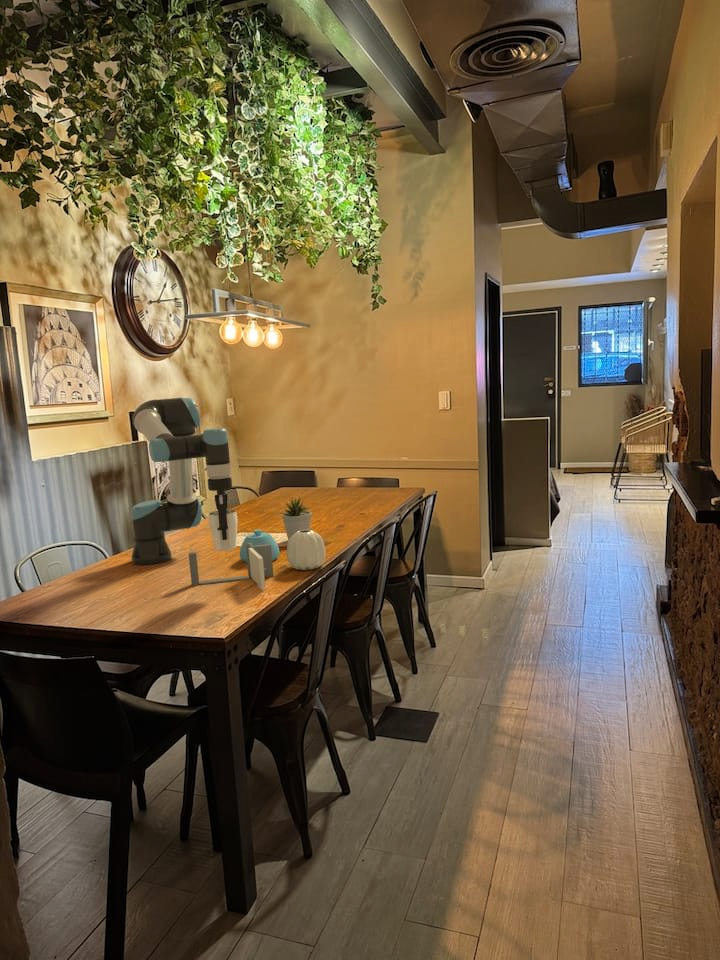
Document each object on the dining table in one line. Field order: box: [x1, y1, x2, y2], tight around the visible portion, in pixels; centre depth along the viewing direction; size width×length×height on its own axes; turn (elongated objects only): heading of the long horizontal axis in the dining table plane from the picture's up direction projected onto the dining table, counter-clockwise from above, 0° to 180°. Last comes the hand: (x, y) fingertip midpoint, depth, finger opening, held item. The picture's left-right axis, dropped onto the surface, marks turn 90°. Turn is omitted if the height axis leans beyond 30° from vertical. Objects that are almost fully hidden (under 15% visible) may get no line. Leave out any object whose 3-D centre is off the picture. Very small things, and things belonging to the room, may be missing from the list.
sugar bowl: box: [239, 529, 280, 564], centre depth 246 cm, size 15×15×12 cm
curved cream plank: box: [248, 548, 266, 590], centre depth 213 cm, size 16×2×10 cm, turn 22°
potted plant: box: [280, 496, 312, 541], centre depth 273 cm, size 13×14×20 cm
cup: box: [208, 509, 238, 552], centre depth 208 cm, size 9×9×12 cm
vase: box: [286, 529, 327, 571], centre depth 230 cm, size 14×14×13 cm
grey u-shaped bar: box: [188, 543, 275, 586], centre depth 221 cm, size 3×28×12 cm, turn 101°
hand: (225, 546), depth 208 cm, fingers closed on cup, 9 cm apart
